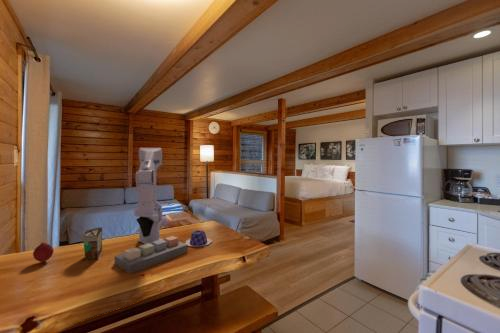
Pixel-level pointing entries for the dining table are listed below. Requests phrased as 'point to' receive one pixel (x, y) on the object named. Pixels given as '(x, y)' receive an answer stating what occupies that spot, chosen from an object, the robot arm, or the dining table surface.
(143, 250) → the key sage
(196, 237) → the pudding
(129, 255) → the key ivory
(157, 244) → the key slate
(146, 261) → the keypad board
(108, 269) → the dining table surface
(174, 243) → the key terracotta
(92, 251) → the food container
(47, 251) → the onion
